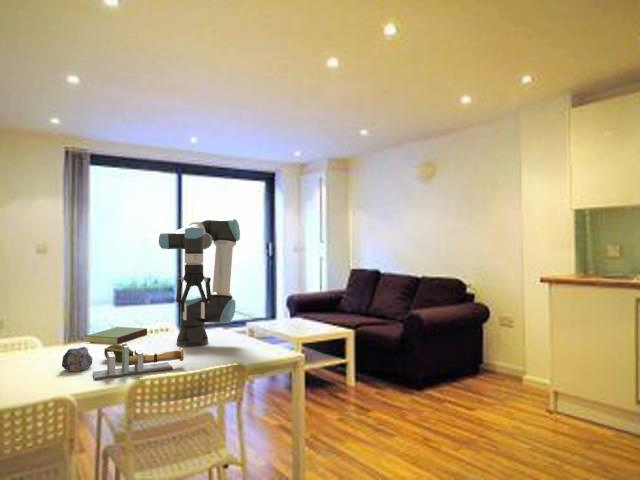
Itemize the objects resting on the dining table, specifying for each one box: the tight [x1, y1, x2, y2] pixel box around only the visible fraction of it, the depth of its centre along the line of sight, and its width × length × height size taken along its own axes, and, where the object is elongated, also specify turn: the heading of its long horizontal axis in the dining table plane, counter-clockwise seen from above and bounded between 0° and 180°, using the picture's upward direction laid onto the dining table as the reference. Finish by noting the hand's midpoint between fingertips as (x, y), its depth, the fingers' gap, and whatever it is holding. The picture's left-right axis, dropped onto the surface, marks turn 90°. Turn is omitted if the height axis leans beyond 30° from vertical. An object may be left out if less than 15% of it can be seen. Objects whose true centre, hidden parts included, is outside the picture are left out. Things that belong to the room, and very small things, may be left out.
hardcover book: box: [86, 326, 148, 345], centre depth 242 cm, size 25×19×4 cm
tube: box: [129, 347, 185, 366], centre depth 184 cm, size 5×21×5 cm, turn 120°
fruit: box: [103, 344, 134, 363], centre depth 197 cm, size 11×12×7 cm
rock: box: [61, 346, 93, 373], centre depth 183 cm, size 11×10×10 cm
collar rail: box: [92, 342, 173, 381], centre depth 180 cm, size 9×28×11 cm, turn 120°
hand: (193, 318), depth 191 cm, fingers open, 7 cm apart
